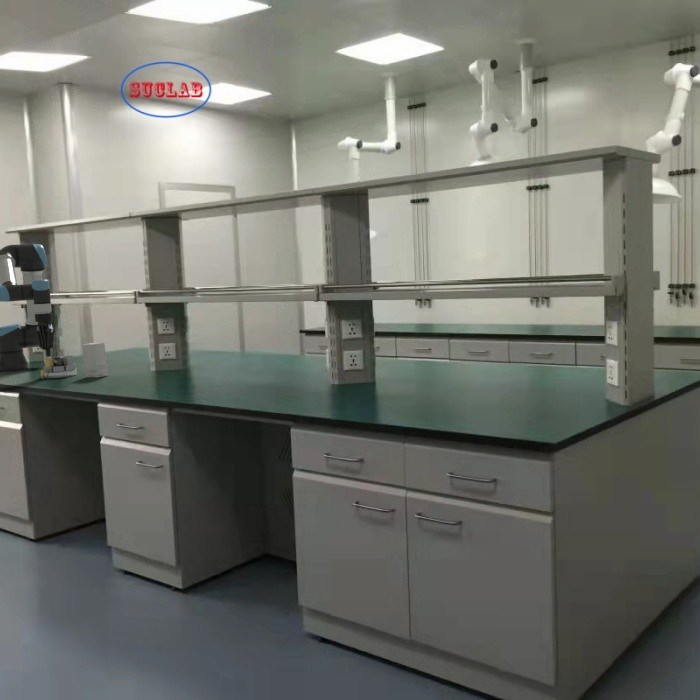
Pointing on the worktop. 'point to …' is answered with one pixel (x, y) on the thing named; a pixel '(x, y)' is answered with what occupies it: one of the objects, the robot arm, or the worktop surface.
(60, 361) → the housing
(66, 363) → the ring nut
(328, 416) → the worktop surface
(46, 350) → the robot arm
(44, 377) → the post
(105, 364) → the skincare box
